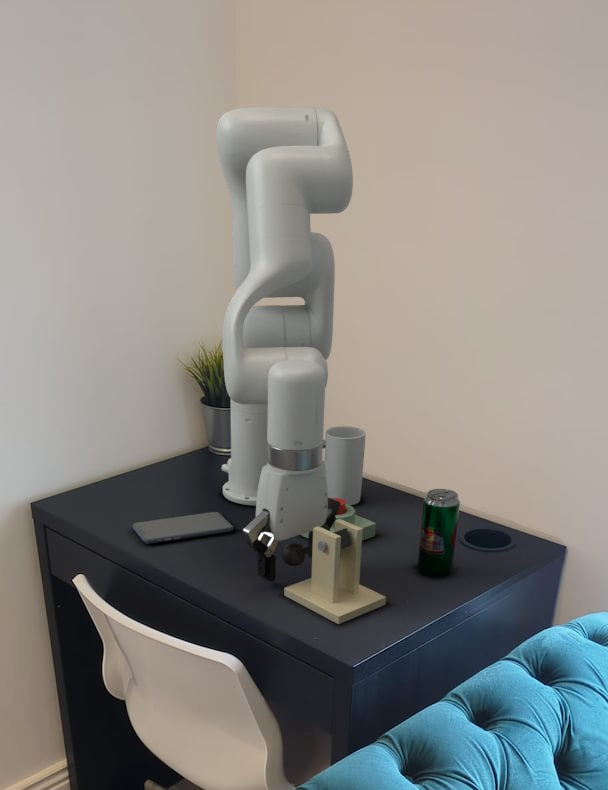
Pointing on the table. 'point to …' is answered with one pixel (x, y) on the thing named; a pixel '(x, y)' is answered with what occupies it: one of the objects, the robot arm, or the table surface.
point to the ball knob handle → (308, 549)
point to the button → (341, 506)
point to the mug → (344, 462)
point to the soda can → (438, 532)
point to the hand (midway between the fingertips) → (291, 568)
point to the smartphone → (182, 527)
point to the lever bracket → (336, 577)
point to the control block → (354, 523)
